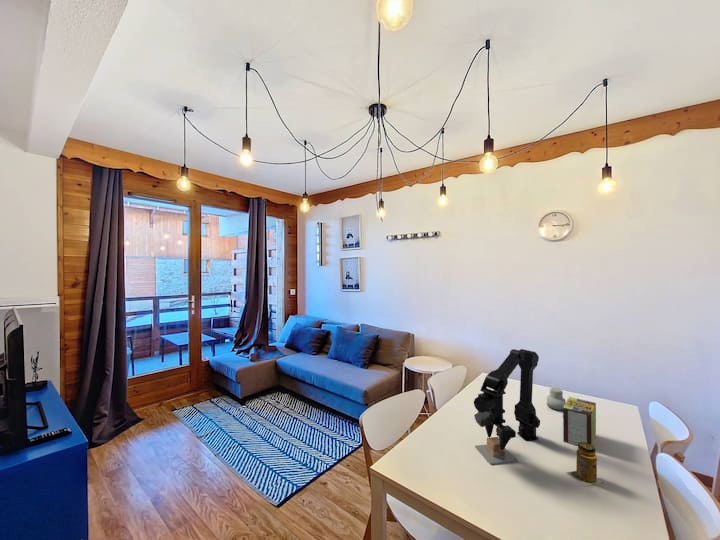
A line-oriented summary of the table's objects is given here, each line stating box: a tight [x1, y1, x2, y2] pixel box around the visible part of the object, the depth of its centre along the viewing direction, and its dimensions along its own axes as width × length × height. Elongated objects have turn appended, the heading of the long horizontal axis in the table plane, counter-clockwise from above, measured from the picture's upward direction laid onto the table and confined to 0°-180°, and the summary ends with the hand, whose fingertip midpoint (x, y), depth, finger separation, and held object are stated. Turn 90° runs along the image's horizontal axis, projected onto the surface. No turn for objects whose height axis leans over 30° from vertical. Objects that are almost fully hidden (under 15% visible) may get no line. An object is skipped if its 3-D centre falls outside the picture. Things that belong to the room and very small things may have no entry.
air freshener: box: [546, 387, 566, 411], centre depth 169 cm, size 11×8×10 cm
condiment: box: [565, 442, 603, 487], centre depth 113 cm, size 7×8×12 cm
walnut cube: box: [486, 436, 506, 457], centre depth 127 cm, size 5×5×5 cm
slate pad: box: [474, 444, 519, 466], centre depth 127 cm, size 12×12×1 cm
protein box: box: [562, 396, 597, 447], centre depth 138 cm, size 10×15×16 cm
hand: (495, 443), depth 127 cm, fingers open, 9 cm apart
